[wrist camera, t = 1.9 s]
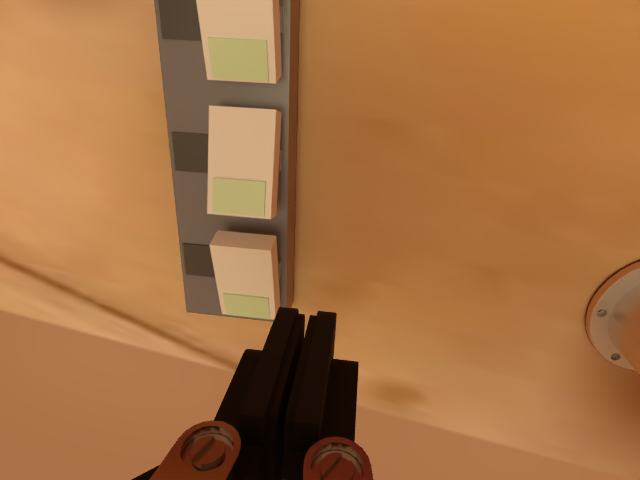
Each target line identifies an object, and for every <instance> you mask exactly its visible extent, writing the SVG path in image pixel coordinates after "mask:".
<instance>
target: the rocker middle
mask: <svg viewBox="0 0 640 480" xmlns="http://www.w3.org/2000/svg"><path fill="white" fill-rule="evenodd" d="M281 115H282V113H281V112H279V111H278V110H274V109H258V108H242V107H226V106H210V105H209V136H208V193H207V214H216V215H228V216H239V217H251V218H262V219H272V218H274V217H275V216H276V213H277V193H278V174H279V154H280V135H281Z"/></svg>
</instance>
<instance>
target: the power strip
mask: <svg viewBox="0 0 640 480" xmlns="http://www.w3.org/2000/svg"><path fill="white" fill-rule="evenodd" d="M154 3H155V12H156V22H157V32H158V41H159V51H160V61H161V70H162V80H163V89H164V99H165V109H166V118H167V128H168V137H169V147H170V157H171V166H172V176H173V185H174V195H175V205H176V214H177V224H178V233H179V243H180V253H181V262H182V272H183V282H184V291H185V301H186V310H187V312H191V313H200V314H209V315H218V316H227V317H236V318H245V319H254V320H263V321H272V322H274V320H272V319H261V318H252V317H243V316H233V315H226V314H222V311H221V306H220V300H219V295H218V289H217V284H216V278H215V273H214V267H213V262H212V257H211V251H210V246H209V245H210V243H211V241H212V239H213V237H214V236H215V234H216V232H217V230H219V231H230V232H241V233H252V234H263V235H274V236H276V239H277V256H278V273H279V291H280V307H286V308H291V306H292V303H293V290H294V244H295V199H296V154H297V109H298V64H299V19H300V0H279V12H280V39H281V66H282V76H281V78H280V79H279V80H278V82H277V83H276V84H273V83H255V82H238V81H220V80H207V73H206V66H205V59H204V52H203V45H202V38H201V31H200V24H199V17H198V10H197V3H196V0H154ZM209 105H210V106H226V107H242V108H258V109H274V110H278V111H279V112H281V113H282V115H281V135H280V154H279V174H278V193H277V213H276V216H275V217H274V218H272V219H262V218H251V217H239V216H228V215H216V214H207V193H208V136H209Z"/></svg>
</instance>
